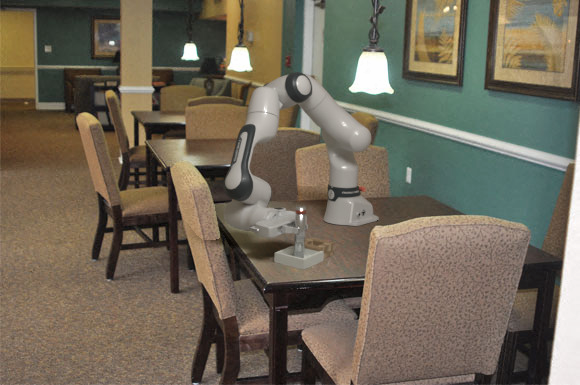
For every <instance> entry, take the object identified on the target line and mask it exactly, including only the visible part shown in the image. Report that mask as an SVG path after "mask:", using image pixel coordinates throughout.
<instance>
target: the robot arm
mask: <svg viewBox="0 0 580 385" xmlns="http://www.w3.org/2000/svg"><path fill="white" fill-rule="evenodd" d="M296 105H298V106H299V107H300V108H301V109H302V111H303V112H304V113H305V114H306V115H307V116H308V117H309V119H311V120H312V122H313V123H314V124H315V125H316V126H317V127H318V128H320V129H321V131H320V132H321V133H320V134H321V138H322V139H323V141H324V144H325V147H326V151H327V157H328V163H329V174H328V175H329V178H328V184H327V192H326V194H327V202H326V208H325V212H324V216H323V219H322V220H323V221H324V222H325V223H328V224H332V225H337V226H351V227H352V226H353V227H359V226H362V225H366V224H369V223H373V222H374V223H375V222H377V220H378V221H379V220H380V217H379V216H378V215H376V214H374V208H373V205H372V203H371V202H370V201H369V200H367V199H366V198H365V197H364V196H363V195H362V194H361V192H362V193H365V192H366V190H367V188H366V187H365V186H363V185H360V186H359V185H358V183H359V182H358V181H359V164H358V162H357V160H356V158H355V154H354V153H361V152H364V151H366V150H367V149H368V148H369V147H370V144H371V143H372V134H371V131H370V129H368V128H367V127H366V126H364V125H363V124H362V123H360V122H359V121H358V120H357V119H356V118H355V117H354V116H352V115H351V114H350V113H349V112H348V111H347V110H345V108H343V107H342V106H340V104H339V103H338V102H337V101H336V100H335V99H334V97H332V95H330V93H329V92H328V91H327V90H326V89H325V88H324V86H323V85H321V83H319V82H318V81H317V80H316V79H314V77H312V76H311V75H309V74H307V73H303V72H300V71H298V72H297V71H296V72H290V73H289V74H285V75H282V76H280V77H277V78H276V79H273V80H272V81H269V82H266V83H265V84H263V85H262V86H258V87H256V88H255V89H253V91H252V93H251V97H250V99H249V103H248V107H247V112H246V120H245V123H244V125H243V126H242V127H241V128H240V130H239V132H238V134H237V138H236V142H235V145H234V149H233V153H232V157H231V161H230V165H229V168H228V170H227V173H226V175H225V177H224V180H223V191H224V193H225V196H227V197H228V198H229V199H231V201H230V202H228V203H226V205H225V206H224V208H223V218H224V221H225V223H226V224H228V226H230V227H232V228H234V229H237V230H241V231H245V232H250V231H251V232H252V233H254V234H255V235H257V236H260V237H263V238H266V239H275V238H276V237H278V236H279V237H280V236H282V235H285V234H294V235H295V234H297V233H299V232H300V231H299V230H300V228H299V227H295V211H294V210H293V211H292V210H287V208H286V207H268V205H269V203H270V201H271V198H272V187H271V185H270V183H269V182H267V181H265V180H264V179H262V178H261V177H258V176H256V175H254V174H253V173H252V171H251V168H250V165H251V162H252V158H253V153H254V150H255V147H256V145H257V144H258V145H259V144H266V143H268V142H270V141H272V140H273V139H275V138H276V136H277V133H278V129H279V123H280V114H281V113H280V112H281V111H282V110H283V111H284V110H287V109H289V108H292V107H293V106H296ZM307 221H308V216H307V215H306V224H305V231H308V230H309V229H308V228H309V225H308V224H307Z"/></svg>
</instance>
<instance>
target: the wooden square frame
mask: <svg viewBox="0 0 580 385" xmlns="http://www.w3.org/2000/svg"><path fill="white" fill-rule="evenodd" d="M305 248H306V249H310V250H314V251H319V252H320V251H323V252H324V257H323V260H325V259H327V258H330V257H331V256H334V254H335V242H333V241H328V240H324V239H319V238H314V237H309V238H307V239H306V238H305Z"/></svg>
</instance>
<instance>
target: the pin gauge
mask: <svg viewBox="0 0 580 385" xmlns="http://www.w3.org/2000/svg"><path fill="white" fill-rule="evenodd" d="M294 212H295V227H299V228H300V230H299V231H300V232H299V233H297V234H294V244H293V245H294V256H295V257H299V258H304V251H305V240H306V230H305V224H306V216H307V206H305V205H296V206H295V211H294Z"/></svg>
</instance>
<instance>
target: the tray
mask: <svg viewBox="0 0 580 385" xmlns="http://www.w3.org/2000/svg"><path fill="white" fill-rule="evenodd" d="M323 257H324V252H323V251H320V252H319V251H314V250H310V249H306V248H305V251H304V258H299V257H295V256H294V244H293V245H291V246H287V247H286V248H283V249H280V250H278V251H276V252H274V260H273V261H274V263H276V264H280V265H283V266H288V267H292V268H296V269H299V270H303V271H304V270H306V269H308V268H311V267H313V266H315V265H317V264H320V263H323V262H324V259H323Z"/></svg>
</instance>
